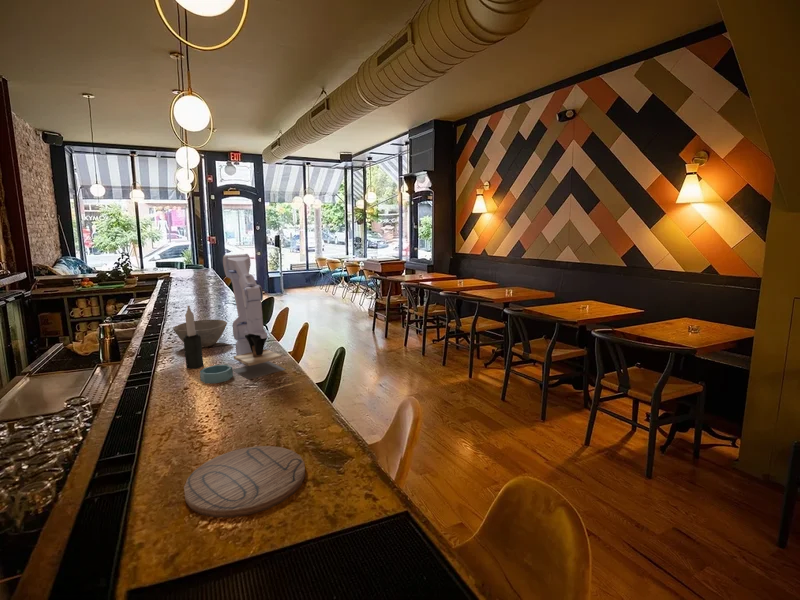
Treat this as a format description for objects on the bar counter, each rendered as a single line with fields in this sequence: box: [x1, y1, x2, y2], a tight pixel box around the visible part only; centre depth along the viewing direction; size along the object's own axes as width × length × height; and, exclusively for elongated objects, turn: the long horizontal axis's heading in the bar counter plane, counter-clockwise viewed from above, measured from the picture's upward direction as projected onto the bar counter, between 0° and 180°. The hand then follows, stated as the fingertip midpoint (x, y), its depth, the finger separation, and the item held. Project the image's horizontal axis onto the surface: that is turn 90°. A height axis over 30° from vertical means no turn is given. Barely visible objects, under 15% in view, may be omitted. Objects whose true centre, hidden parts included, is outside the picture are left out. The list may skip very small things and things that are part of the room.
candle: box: [182, 305, 204, 370], centre depth 175 cm, size 5×5×25 cm
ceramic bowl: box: [172, 319, 228, 348], centre depth 209 cm, size 22×23×10 cm
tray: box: [232, 361, 287, 380], centre depth 172 cm, size 15×15×1 cm
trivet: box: [183, 445, 306, 518], centre depth 99 cm, size 25×25×2 cm
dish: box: [199, 364, 234, 384], centre depth 163 cm, size 10×10×4 cm
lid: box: [233, 345, 283, 366], centre depth 171 cm, size 13×13×5 cm
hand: (257, 353), depth 171 cm, fingers closed on lid, 3 cm apart
